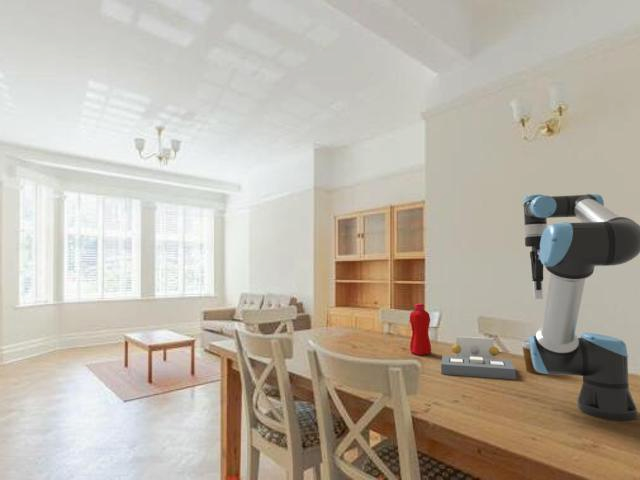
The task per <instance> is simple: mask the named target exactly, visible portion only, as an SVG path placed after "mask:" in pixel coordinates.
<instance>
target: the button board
mask: <svg viewBox="0 0 640 480" xmlns="http://www.w3.org/2000/svg"><path fill="white" fill-rule="evenodd" d="M441 357H442V358H441V363H440V364H441V365H440V366H441V369H440V370H441V375H450V376H464V377H465V376H466V377H477V378H478V377H479V378H491V379H503V380H504V379H505V380H514V381H515V380H516V379H517V377H516V373H517V372H516V367H515V366H514V364H513V362H512V360H511V359H507V358H495V357H494V358H483V364H476V363H470V357H462V356H457V355H447V354H446V355H445V354H443V355H442V356H441ZM450 358H451V359H463V363H461V362H450ZM490 361H497V362H503V363H504V365H491V364H490Z"/></svg>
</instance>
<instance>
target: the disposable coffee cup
mask: <svg viewBox="0 0 640 480" xmlns="http://www.w3.org/2000/svg"><path fill="white" fill-rule="evenodd" d="M521 343H522V344H521V348H522V352H523V358H524V363H525V364H524V365H525V369H526V370H525V371H526V372H527V373H530V374H535V375H541V374H542V375H543V373H539V372H537V371H536V370H535V369H534V366H533V363H532V358H531V353H530V346H529V340H524V341H522V342H521Z"/></svg>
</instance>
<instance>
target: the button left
mask: <svg viewBox="0 0 640 480" xmlns="http://www.w3.org/2000/svg"><path fill="white" fill-rule="evenodd" d="M450 362H461V363H463V359H451V358H450Z"/></svg>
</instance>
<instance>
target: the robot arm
mask: <svg viewBox="0 0 640 480" xmlns="http://www.w3.org/2000/svg"><path fill="white" fill-rule="evenodd" d="M522 206H523V216H524V217H523V218H524V220H523V221H524V225H523V226H524V227H523V228H524V236H525V237H524V245H525V247H529V248H530V247H531V251H529V257H530V265H531V267H530V268H531V278H532V281H531V282H533V283H532V284H533V285H532V286H533V299H535V300H536V299H537V300H543V298H544V297H543V296H544V294H543V293H544V292H543V282H544V267H545V270H546V271H547V272H548V273H549V277H548V278H549V280H548V285H547V286H548V287H547V293H546V300H545V307H544V313H543V315H544V316H543V322H542V326H541V327H539V328H538V330H537V331H536V334H535V335H530V336H529V337H528V341H529V346H530V353H531V358H532V363H533V366H534V369H535V370H536V371H537V372H539V373H542V374H546V375H559V376H561V375H563V376H577V377H582V385H581V388H580V391H579V393H578V396H577V404H576V405H577V408H578V410H579V411H581V412H583V413H585V414H587V415H590V416H593V417H595V418H600V419H606V420H613V421H633V420H636V419H637V418H638V408H637V405H636V403H635V401H634V398H633V396H632V393H631V391H630V388H629V366H628V365H629V363H628V359H629V355H628V349H627V344H626V343H625V341H624V340H621V339H619V338H617V337H613V336H609V335H605V334H599V333H592V332H582V333H581V334H580V337H578V336H577V334H576V330H577V324H578V319H579V313H580V309H581V304H582V298H583V293H584V287H585V283H586V279H588V278H590V277H591V276H593V274H594V271H595V267H599V266H600V267H603V266H604V267H607V266H608V267H609V266H611V267H612V266H617V265H619V266H620V265H623V264H625V263H628V262H630V261H632V260H633V259H635V258H636V257H638V256H639V254H640V224H638V223H637V222H636V221H634V220H632V219H631V218H629V217H624V216H619V215H618V214H616V213H615V212H614V211H612V210H610V209H609V208H607V207H606V206H605V203H604V199H603V197H602V195H600V194H598V193H596V194H591V193H587V194H576V195H575V194H573V195H572V194H571V195H554V196H553V195H552V196H550V195H544V194H530V195H529V194H528V195H525V196H524V197H523V204H522ZM548 218H549V219H551V218H577V219H579V220H580V221H581V222H568V221H567V222H561V223H552V224H549V225H548V226H547V223H548V221H547V219H548Z"/></svg>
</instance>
